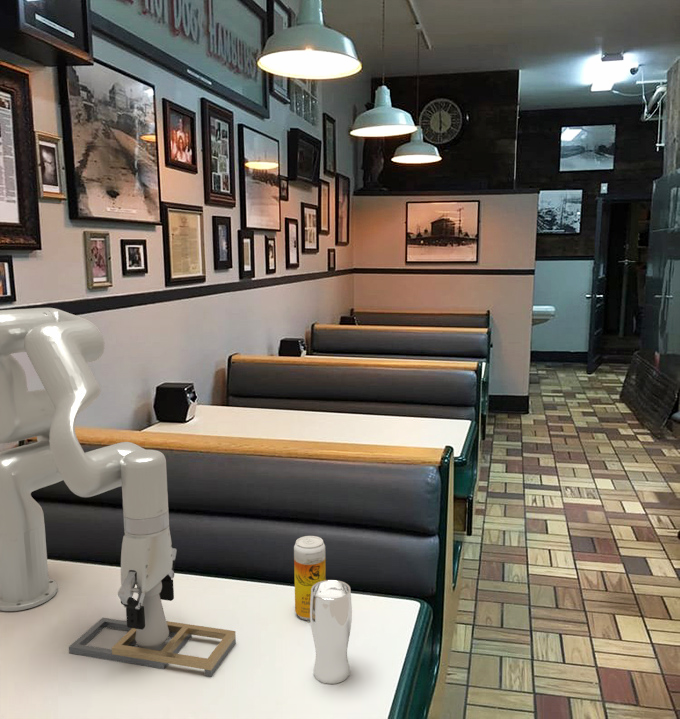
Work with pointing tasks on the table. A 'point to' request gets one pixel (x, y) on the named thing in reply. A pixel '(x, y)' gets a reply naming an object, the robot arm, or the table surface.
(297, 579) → the beer can
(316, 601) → the beer glass
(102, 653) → the grey rectangular frame
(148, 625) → the salt shaker
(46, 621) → the table surface
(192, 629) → the gold rectangular frame
